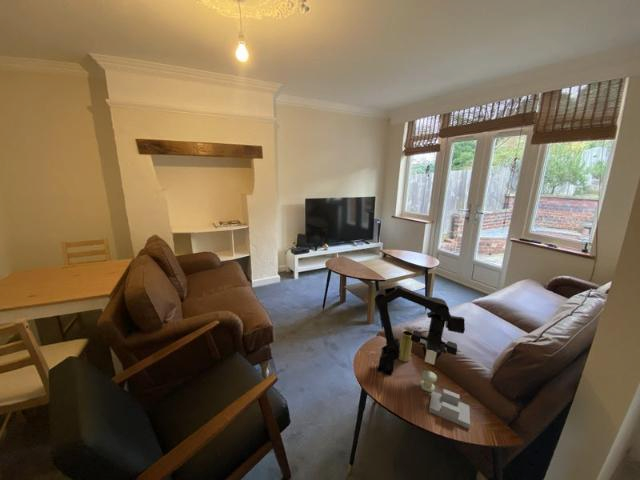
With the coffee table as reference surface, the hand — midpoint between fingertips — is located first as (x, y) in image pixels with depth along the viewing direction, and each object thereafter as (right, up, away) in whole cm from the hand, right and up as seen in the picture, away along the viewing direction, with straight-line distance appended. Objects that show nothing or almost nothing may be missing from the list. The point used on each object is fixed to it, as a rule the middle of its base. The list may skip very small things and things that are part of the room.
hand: (430, 358), depth 119 cm
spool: (-2, -11, -3) cm, 12 cm away
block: (0, -1, 0) cm, 1 cm away
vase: (-7, -7, +16) cm, 19 cm away
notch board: (+1, -14, -14) cm, 20 cm away
